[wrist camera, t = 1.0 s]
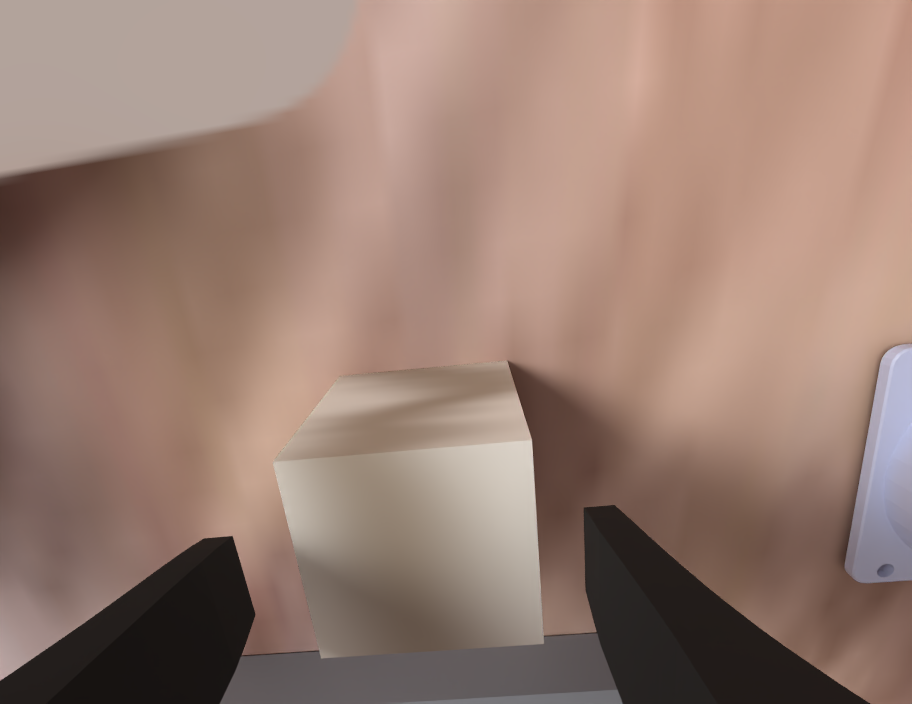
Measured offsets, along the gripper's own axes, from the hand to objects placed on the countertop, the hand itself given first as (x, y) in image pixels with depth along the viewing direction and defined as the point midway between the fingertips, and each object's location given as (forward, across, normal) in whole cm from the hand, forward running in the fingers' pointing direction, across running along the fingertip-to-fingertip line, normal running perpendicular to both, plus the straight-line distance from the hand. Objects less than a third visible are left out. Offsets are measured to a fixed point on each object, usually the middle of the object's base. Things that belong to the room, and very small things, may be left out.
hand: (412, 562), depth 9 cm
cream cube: (+5, 0, 0) cm, 5 cm away
